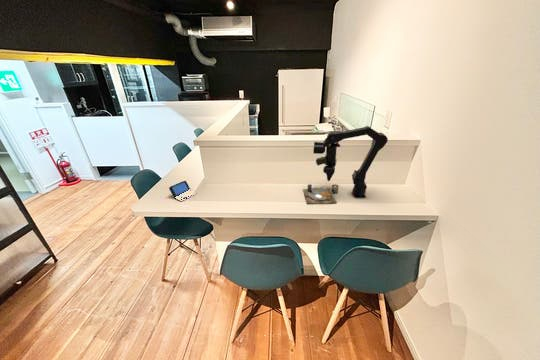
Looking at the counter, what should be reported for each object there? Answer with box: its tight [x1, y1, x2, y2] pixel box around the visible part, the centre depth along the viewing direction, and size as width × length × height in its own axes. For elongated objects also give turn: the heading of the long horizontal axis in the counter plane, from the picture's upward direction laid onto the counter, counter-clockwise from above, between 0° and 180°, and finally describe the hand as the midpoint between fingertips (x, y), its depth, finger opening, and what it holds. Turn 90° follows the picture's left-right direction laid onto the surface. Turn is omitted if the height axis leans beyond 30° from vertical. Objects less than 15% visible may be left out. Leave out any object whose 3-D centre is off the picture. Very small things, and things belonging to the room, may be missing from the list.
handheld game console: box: [168, 180, 191, 200], centre depth 134 cm, size 12×11×7 cm
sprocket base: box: [302, 188, 337, 205], centre depth 131 cm, size 17×17×1 cm
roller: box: [330, 183, 339, 195], centre depth 134 cm, size 4×4×5 cm
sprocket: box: [306, 183, 333, 201], centre depth 129 cm, size 16×15×6 cm
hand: (329, 177), depth 131 cm, fingers open, 9 cm apart
